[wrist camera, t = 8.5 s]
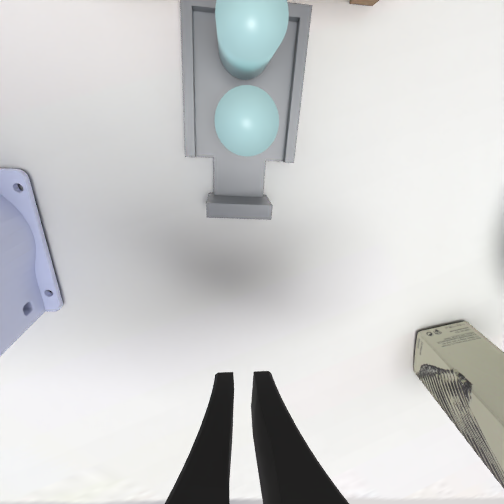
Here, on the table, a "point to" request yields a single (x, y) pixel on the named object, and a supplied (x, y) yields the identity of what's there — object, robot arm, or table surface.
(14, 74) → the table surface
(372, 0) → the small wooden stool
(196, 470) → the robot arm
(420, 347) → the box
